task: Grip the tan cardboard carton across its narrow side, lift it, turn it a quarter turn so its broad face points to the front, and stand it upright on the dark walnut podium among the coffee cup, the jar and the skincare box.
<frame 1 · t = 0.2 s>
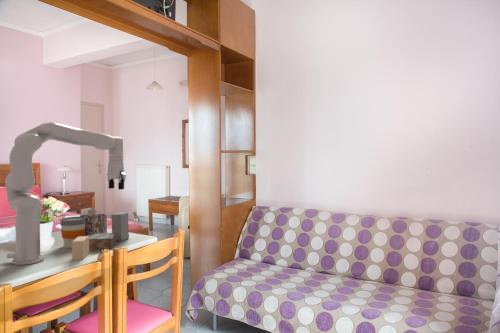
hand: (116, 188, 191), 31 cm above the table, tool pointing down, fingers open, 9 cm apart
reusable coffee cup: (73, 245, 185), on the table
carton: (80, 256, 164), on the table
decorative jar: (92, 239, 198), on the table
skincare box: (120, 239, 198), on the table
podium: (99, 246, 182), on the table
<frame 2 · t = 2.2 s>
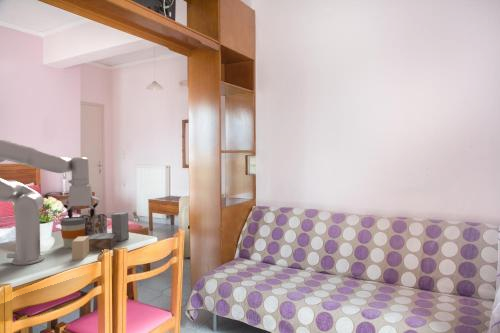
hand: (81, 217, 164), 19 cm above the table, tool pointing down, fingers open, 9 cm apart
nothing on the table moved.
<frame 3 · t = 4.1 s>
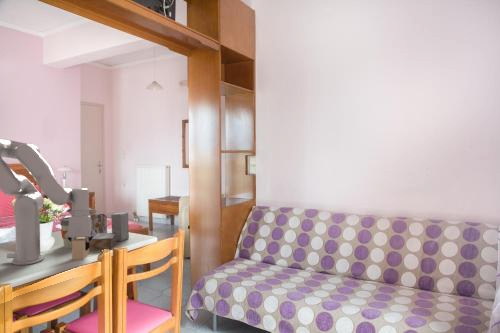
hand: (80, 249, 164), 3 cm above the table, tool pointing down, fingers closed on carton, 5 cm apart
carton: (80, 256, 164), on the table, touching gripper
everything else where it was.
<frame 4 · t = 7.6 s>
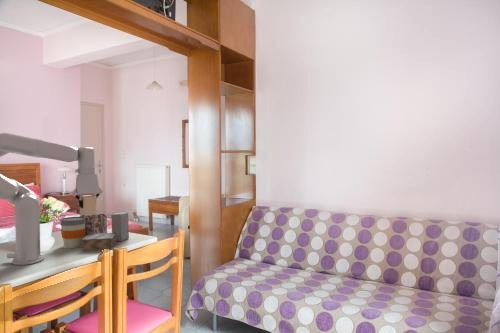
hand: (87, 206, 169), 24 cm above the table, tool pointing down, fingers closed on carton, 5 cm apart
carton: (87, 213, 169), point 20 cm above the table, touching gripper
everything else where it was.
when the fingers open (11 cm above the table, at t = 11.1 s): carton drops 1 cm, resting on podium.
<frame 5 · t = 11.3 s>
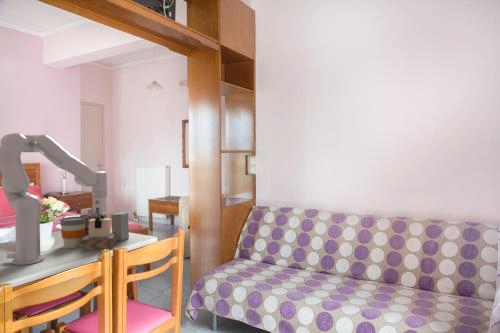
hand: (99, 226, 182), 11 cm above the table, tool pointing down, fingers open, 6 cm apart
carton: (99, 235, 182), point 6 cm above the table, touching podium
everything else where it was.
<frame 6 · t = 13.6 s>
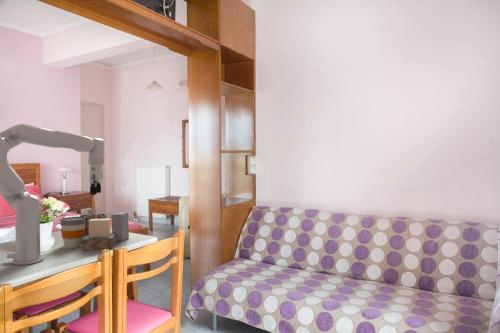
hand: (95, 193, 179), 29 cm above the table, tool pointing down, fingers open, 9 cm apart
nothing on the table moved.
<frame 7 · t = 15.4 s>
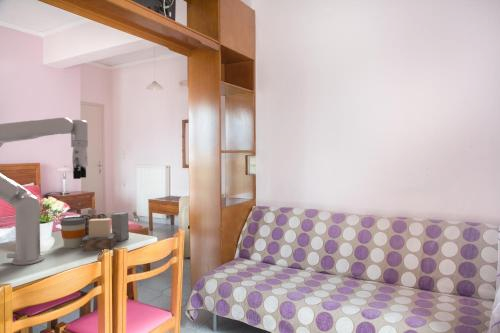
hand: (79, 178, 170), 38 cm above the table, tool pointing down, fingers open, 9 cm apart
nothing on the table moved.
at the end: carton inside the target area on the podium (0.1 cm from its centre), point 6.0 cm above the podium's base; carton tilted 0°; the gripper is holding nothing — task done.
